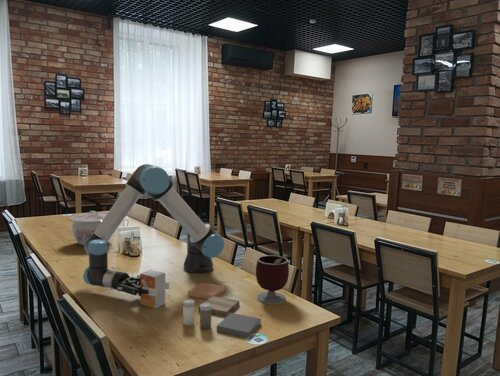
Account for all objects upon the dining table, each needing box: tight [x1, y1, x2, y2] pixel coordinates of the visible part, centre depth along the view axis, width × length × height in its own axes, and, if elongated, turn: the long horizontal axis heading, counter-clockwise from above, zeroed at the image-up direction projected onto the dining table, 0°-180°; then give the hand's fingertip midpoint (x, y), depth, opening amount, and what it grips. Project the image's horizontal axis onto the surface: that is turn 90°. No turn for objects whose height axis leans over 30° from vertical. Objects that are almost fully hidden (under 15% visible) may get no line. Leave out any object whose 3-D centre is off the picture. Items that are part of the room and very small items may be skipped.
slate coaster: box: [216, 312, 262, 339], centre depth 151 cm, size 12×12×2 cm
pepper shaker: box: [199, 302, 212, 331], centre depth 150 cm, size 4×4×8 cm
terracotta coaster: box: [187, 281, 226, 300], centre depth 183 cm, size 12×12×2 cm
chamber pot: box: [68, 210, 113, 246], centre depth 257 cm, size 28×28×21 cm
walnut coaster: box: [198, 296, 240, 318], centre depth 167 cm, size 12×12×2 cm
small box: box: [139, 269, 166, 309], centre depth 169 cm, size 8×6×13 cm
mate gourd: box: [255, 254, 290, 305], centre depth 177 cm, size 16×14×20 cm
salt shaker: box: [182, 299, 196, 327], centre depth 153 cm, size 4×4×8 cm
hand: (162, 289), depth 167 cm, fingers open, 8 cm apart
